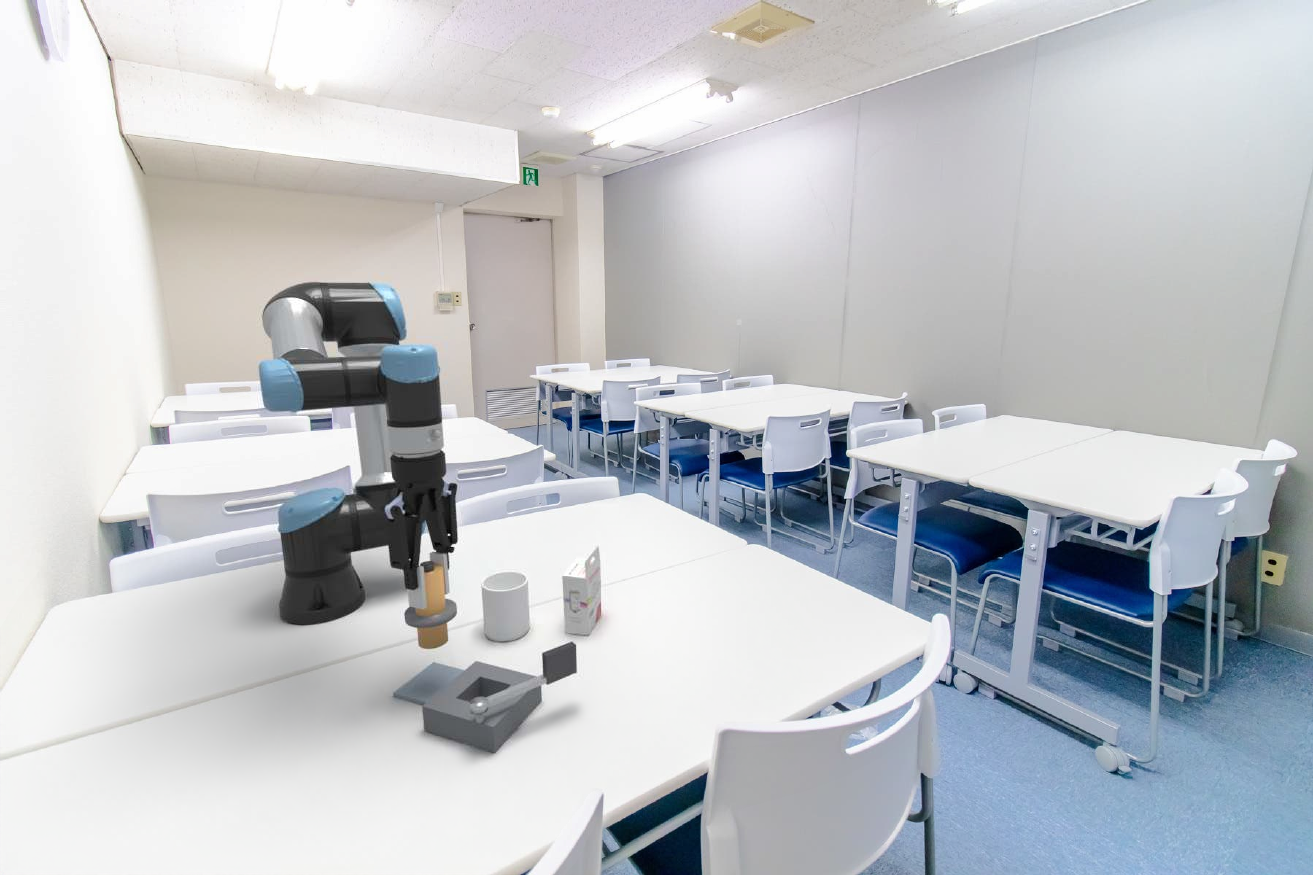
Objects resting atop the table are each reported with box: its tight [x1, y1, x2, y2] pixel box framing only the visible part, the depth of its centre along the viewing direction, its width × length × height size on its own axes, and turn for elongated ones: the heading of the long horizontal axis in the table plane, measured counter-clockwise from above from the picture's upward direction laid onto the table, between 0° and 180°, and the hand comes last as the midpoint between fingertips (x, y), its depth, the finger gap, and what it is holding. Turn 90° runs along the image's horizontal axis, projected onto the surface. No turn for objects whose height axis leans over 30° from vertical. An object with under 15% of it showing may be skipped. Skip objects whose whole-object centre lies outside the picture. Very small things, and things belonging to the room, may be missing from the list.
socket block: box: [421, 660, 543, 754], centre depth 89 cm, size 12×12×5 cm
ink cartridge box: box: [561, 545, 602, 636], centre depth 114 cm, size 9×5×15 cm, turn 168°
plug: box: [403, 560, 458, 650], centre depth 93 cm, size 8×8×13 cm
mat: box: [392, 661, 466, 706], centre depth 96 cm, size 9×9×1 cm
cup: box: [480, 570, 531, 643], centre depth 114 cm, size 8×12×10 cm
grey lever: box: [470, 641, 578, 715], centre depth 86 cm, size 2×16×5 cm, turn 129°
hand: (429, 598), depth 93 cm, fingers closed on plug, 4 cm apart
